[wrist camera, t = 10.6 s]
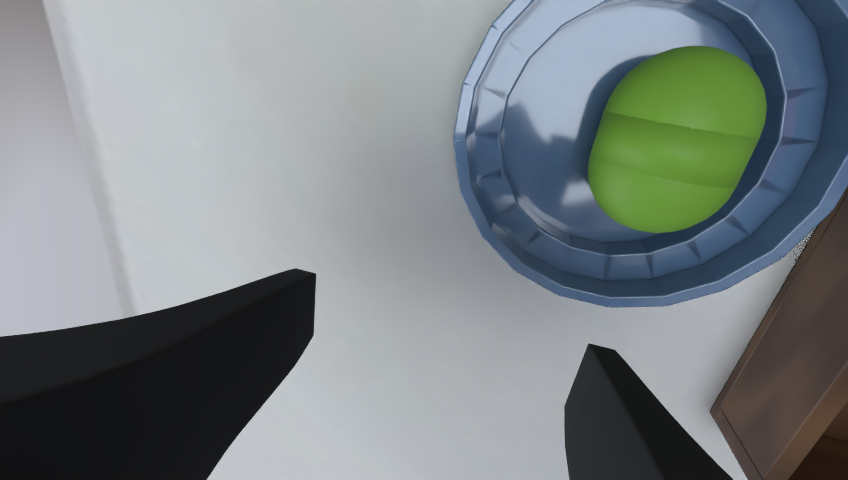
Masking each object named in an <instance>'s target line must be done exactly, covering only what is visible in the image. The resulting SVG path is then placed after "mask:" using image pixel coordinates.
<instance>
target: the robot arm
mask: <svg viewBox="0 0 848 480" xmlns="http://www.w3.org/2000/svg"><path fill="white" fill-rule="evenodd" d="M315 287H316V274H315V273H311V272H307V271H303V270H300V269H292V270H288V271H284V272H281V273H278V274H275V275H272V276H269V277H266V278H263V279H260V280H257V281H254V282H251V283H248V284H245V285H242V286H239V287H236V288H233V289H231V290H228V291H225V292H222V293H218V294H215V295H212V296H208V297H205V298H202V299H199V300H195V301H192V302H189V303H185V304H182V305H179V306H175V307H171V308H167V309H164V310H160V311H156V312H151V313H147V314H142V315H138V316H134V317H129V318H124V319H120V320H115V321H108V322H103V323H97V324H91V325H85V326H79V327H74V328H68V329H61V330H54V331H47V332H39V333H31V334H22V335H13V336H3V337H0V480H207V478H208V477H209V475H210V474H211V472H212V471H213V469H214V468H215V466H216V465H217V463H218V462H219V460H220V459H221V457H222V456H223V454H224V453H225V452H226V450H227V449H228V447H229V446H230V445H231V444H232V442H233V441H234V440H235V438H236V437H237V436H238V434H239V433H240V432H241V431H242V429H243V428H244V427H245V426H246V425H247V423H248V422H249V421H250V420H251V419H252V417H253V416H254V415H255V414H256V412H257V411H258V410H259V409H260V408H261V406H262V405H263V404H264V403H265V402H266V400H267V399H268V398H269V397H270V396H271V394H272V393H273V392H274V391H275V390H276V388H277V387H278V386H279V385H280V383H281V382H282V381H283V380H284V378H285V377H286V376H287V375H288V374H289V372H290V371H291V370H292V368H293V367H294V366H295V364H296V363H297V361H298V360H299V358H300V357H301V355H302V354H303V352H304V350H305V349H306V347H307V345H308V344H309V342H310V340H311V339H312V337H313V335H314V311H315ZM565 449H566V457H567V464H568V471H569V479H570V480H733V479H732V478H731V477H730V476H729V475H728V474H727V473H726V472H725V471H724V470H723V469H722V468H721V467H720V466H719V465H718V464H717V463H716V462H715V461H714V460H713V459H712V458H711V457H710V456H709V455H708V454H707V453H706V452H705V451H704V450H703V449H702V448H701V447H700V445H699V444H698V443H697V442H696V441H695V440H694V439H693V438H692V437H691V436H690V435H689V434H688V433H687V432H686V431H685V430H684V428H683V427H682V426H681V425H680V424H679V423H678V422H677V421H676V420H675V419H674V417H673V416H672V415H671V414H670V413H669V412H668V411H667V410H666V408H665V407H664V406H663V405H662V404H661V403H660V402H659V400H658V399H657V398H656V397H655V396H654V395H653V393H652V392H651V391H650V390H649V389H648V388H647V386H646V385H645V384H644V383H643V382H642V380H641V379H640V378H639V377H638V376H637V375H636V373H635V372H634V371H633V370H632V369H631V368H630V366H629V365H628V364H627V363H626V362H625V361H624V359H623V358H622V357H621V356H620V355H619V354H618V353H617V352H616V351H615V350H613V349H609V348H605V347H601V346H597V345H593V344H588V346H587V349H586V352H585V354H584V357H583V359H582V362H581V365H580V367H579V370H578V372H577V375H576V378H575V380H574V383H573V385H572V388H571V391H570V393H569V396H568V398H567V401H566V404H565Z"/></svg>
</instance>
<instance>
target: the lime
mask: <svg viewBox="0 0 848 480" xmlns="http://www.w3.org/2000/svg"><path fill="white" fill-rule="evenodd" d="M766 111H767V103H766V96H765V90H764V88H763V86H762V83H761V81H760V79H759V77H758V75H757V74H756V73H755V72H754V70H753V69H752V68H751V67H750V65H749V64H747V63H746V62H745V61H743V60H742V59H740V58H739V57H738V56H736V55H734V54H732V53H729V52H727V51H725V50H722V49H719V48H714V47H707V46H686V47H680V48H674V49H670V50H668V51H665V52H662V53H659V54H656V55H654V56H652V57H651V58H649V59H647V60H645V61H643V62H641V63H640V64H639V65H638V66H636V67H635V68H634V69H632V70H631V71H630V72H629V73H628V74H627V75H626V76H625V77H624V78H623V79H622V80H621V81H620V82H619V83H618V85H617V86H616V88H615V89H614V91H613V92H612V94H611V95H610V97H609V99H608V102H607V104H606V106H605V109H604V111H603V115H602V118H601V121H600V124H599V127H598V131H597V134H596V137H595V140H594V143H593V147H592V150H591V153H590V158H589V163H588V181H589V185H590V189H591V192H592V194H593V196H594V198H595V200H596V202H597V204H598V205H599V206H600V207H601V209H602V210H603V211H604V212H605V213H606V214H607V215H608V216H610V217H611V218H612V219H613V220H615V221H616V222H618V223H620V224H622V225H624V226H626V227H629V228H631V229H634V230H638V231H643V232H649V233H666V232H675V231H679V230H682V229H686V228H689V227H692V226H694V225H696V224H698V223H700V222H702V221H704V220H706V219H707V218H709V217H710V216H711V215H713V214H714V213H716V212H717V211H718V210H719V209H720V208H721V207H722V206H723V205H724V204H725V203H726V202H727V201H728V200H729V198H730V196H731V195H732V193H733V192H734V190H735V188H736V187H737V185H738V183H739V181H740V179H741V176H742V174H743V172H744V170H745V168H746V166H747V164H748V162H749V160H750V158H751V155H752V153H753V151H754V149H755V147H756V145H757V143H758V141H759V139H760V136H761V133H762V130H763V127H764V124H765V120H766Z"/></svg>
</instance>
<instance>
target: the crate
mask: <svg viewBox="0 0 848 480" xmlns="http://www.w3.org/2000/svg"><path fill="white" fill-rule="evenodd" d="M710 413H711V415H712V417H713V418H714V419H715V422H716V423H717V425H718V427H719V429H720V431H721V432H722V434H723V436H724V438H725V440H726V441H727V443H728V445H729V447H730V449H731V450H732V452H733V454H734V456H735V458H736V459H737V461H738V463H739V465H740V466H741V468H742V470H743V472H744V474H745V475H746V477H747V479H748V480H848V186H847V188H846V189H845V191H844V193H843V194H842V196H841V198H840V199H839V201H838V203H837V204H836V206H835V208H834V209H833V210H831V213H830V214H829V215H828V216H826V217H825V218H824V219H823V220H822V221H821V222H820V224H819V226H818V227H817V229H816V231H815V232H814V234H813V236H812V238H811V239H810V241H809V243H808V244H807V246H806V248H805V250H804V251H803V253H802V255H801V256H800V258H799V260H798V261H797V263H796V265H795V267H794V268H793V270H792V272H791V273H790V275H789V277H788V279H787V280H786V282H785V284H784V285H783V287H782V289H781V291H780V292H779V294H778V296H777V297H776V299H775V301H774V303H773V304H772V306H771V308H770V309H769V311H768V313H767V315H766V316H765V318H764V320H763V321H762V323H761V325H760V327H759V328H758V330H757V332H756V333H755V335H754V337H753V339H752V340H751V342H750V344H749V345H748V347H747V349H746V350H745V352H744V354H743V356H742V357H741V359H740V361H739V362H738V364H737V366H736V368H735V369H734V371H733V373H732V374H731V376H730V378H729V380H728V381H727V383H726V385H725V386H724V388H723V390H722V392H721V393H720V395H719V397H718V398H717V400H716V402H715V404H714V405H713V407H712V409H711V410H710Z"/></svg>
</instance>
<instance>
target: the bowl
mask: <svg viewBox="0 0 848 480" xmlns="http://www.w3.org/2000/svg"><path fill="white" fill-rule="evenodd" d="M686 46H707V47H714V48H719V49H722V50H725V51H727V52H729V53H732V54H734V55H736V56H738V57H739V58H740V59H742V60H743V61H745V62H746V63H747V64H749V65H750V67H751V68H752V69H753V70H754V72H755V73H756V74H757V75H758V77H759V79H760V81H761V83H762V86H763V88H764V90H765V96H766V103H767V111H766V120H765V124H764V127H763V130H762V133H761V136H760V139H759V141H758V143H757V145H756V147H755V149H754V151H753V153H752V155H751V158H750V160H749V162H748V164H747V166H746V168H745V170H744V172H743V174H742V176H741V179H740V181H739V183H738V185H737V187H736V188H735V190H734V192H733V193H732V195H731V196H730V198H729V200H728V201H727V202H726V203H725V204H724V205H723V206H722V207H721V208H720V209H719V210H718V211H717V212H716V213H714V214H713V215H711V216H710V217H709V218H707V219H706V220H704V221H702V222H700V223H698V224H696V225H694V226H692V227H689V228H686V229H682V230H679V231H675V232H666V233H649V232H643V231H638V230H634V229H631V228H629V227H626V226H624V225H622V224H620V223H618V222H616V221H615V220H613V219H612V218H611V217H610V216H608V215H607V214H606V213H605V212H604V211H603V210H602V209H601V207H600V206H599V205H598V204H597V202H596V200H595V198H594V196H593V194H592V192H591V189H590V185H589V181H588V163H589V158H590V153H591V150H592V147H593V143H594V140H595V137H596V134H597V131H598V127H599V124H600V121H601V118H602V115H603V111H604V109H605V106H606V104H607V102H608V99H609V97H610V95H611V94H612V92H613V91H614V89H615V88H616V86H617V85H618V83H619V82H620V81H621V80H622V79H623V78H624V77H625V76H626V75H627V74H628V73H629V72H630V71H631V70H632V69H634V68H635V67H636V66H638V65H639V64H640V63H641V62H643V61H645V60H647V59H649V58H651V57H652V56H654V55H656V54H659V53H662V52H665V51H668V50H670V49H674V48H680V47H686ZM453 139H454V140H453V145H454V152H455V160H456V167H457V175H458V182H459V189H460V193H461V195H462V197H463V199H464V201H465V203H466V205H467V208H468V210H469V212H470V214H471V216H472V218H473V220H474V222H475V224H476V226H477V228H478V230H479V233H480V235H482V237H483V238H484V239H485V240H486V241H487V242H488V244H489V245H490V246H491V247H492V248H493V249H494V250H495V251H496V252H497V253H498V254H499V255H500V256H501V257H502V258H503V259H504V260H505V261H506V262H507V263H508V265H509V266H510V267H511V268H512V269H513V270H515V271H516V272H517V273H519V274H521V275H523V276H525V277H526V278H528V279H530V280H532V281H533V282H535V283H537V284H539V285H541V286H542V287H544V288H546V289H548V290H549V291H551V292H553V293H555V294H557V295H559V296H563V297H567V298H571V299H576V300H580V301H584V302H588V303H592V304H596V305H601V306H605V307H656V306H668V305H672V304H676V303H679V302H683V301H687V300H691V299H694V298H698V297H702V296H705V295H709V294H713V293H716V292H720V291H723V290H726V289H728V288H730V287H731V286H733V285H735V284H737V283H739V282H740V281H742V280H744V279H746V278H748V277H749V276H751V275H753V274H755V273H757V272H759V271H760V270H762V269H764V268H766V267H768V266H769V265H771V264H773V263H775V262H777V261H778V260H780V259H781V258H783V257H784V256H785V255H786V254H787V253H788V252H789V251H791V250H792V249H793V248H794V247H795V246H796V245H797V244H798V243H799V242H800V241H801V240H802V239H803V238H804V237H805V236H806V235H807V234H808V233H810V232H811V231H812V230H813V229H814V228H815V227H816V226H817V225H818V224H819V223H820V222H821V221H822V220H823V219H824V218H825V217H826V216H828V215H829V214H830V213H831V210H833V209H834V208H835V206H836V204H837V203H838V201H839V199H840V198H841V196H842V194H843V193H844V191H845V189H846V188H847V186H848V0H513V1H512V2H511V3H510V4H509V6H508V7H507V8H506V9H505V10H504V11H503V12H502V13H501V14H500V15H499V17H498V18H497V19H496V20H495V21H494V22H493V23H492V25H491V26H490V28H489V30H488V32H487V34H486V36H485V38H484V40H483V42H482V44H481V46H480V48H479V50H478V52H477V54H476V56H475V58H474V60H473V62H472V64H471V66H470V68H469V70H468V72H467V74H466V76H465V79H464V81H463V84H462V89H461V94H460V100H459V106H458V112H457V118H456V123H455V129H454V135H453Z"/></svg>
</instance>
